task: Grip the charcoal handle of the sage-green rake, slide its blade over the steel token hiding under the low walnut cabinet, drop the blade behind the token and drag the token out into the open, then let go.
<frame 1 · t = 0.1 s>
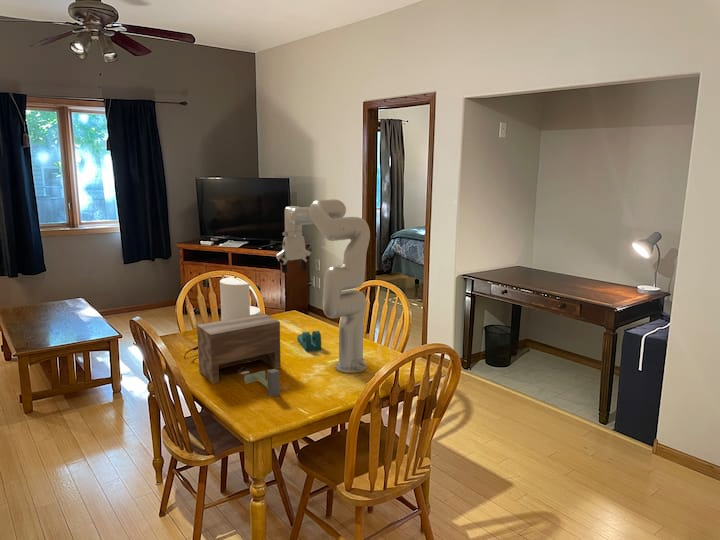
hand: (294, 271, 245), 31 cm above the table, tool pointing down, fingers open, 9 cm apart
token: (243, 372, 210), on the table
sunglasses: (200, 358, 225), on the table
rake: (273, 394, 190), on the table
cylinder: (241, 340, 246), on the table
bracket: (308, 345, 242), on the table
cabinet: (240, 369, 212), on the table
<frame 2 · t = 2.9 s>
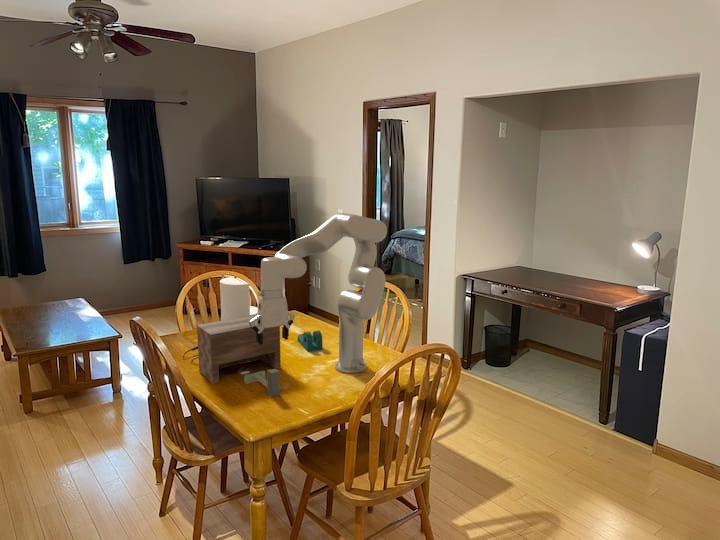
hand: (272, 341, 189), 19 cm above the table, tool pointing down, fingers open, 9 cm apart
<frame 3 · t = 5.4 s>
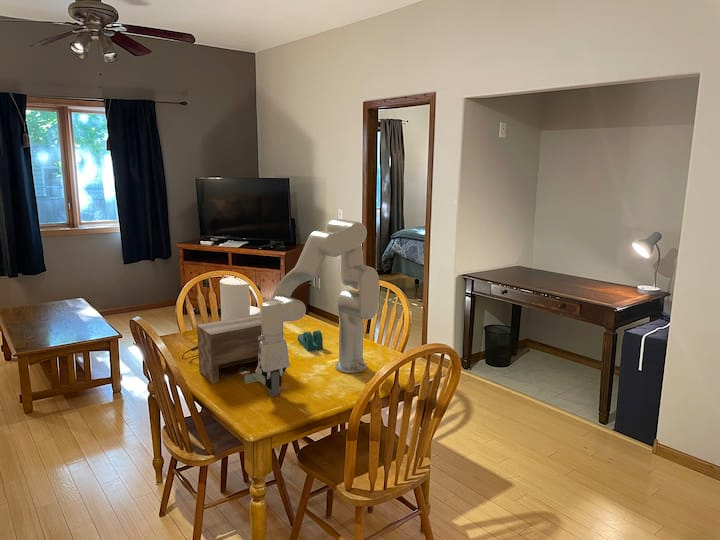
hand: (273, 386, 190), 3 cm above the table, tool pointing down, fingers closed on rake, 3 cm apart
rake: (273, 394, 190), on the table, touching gripper
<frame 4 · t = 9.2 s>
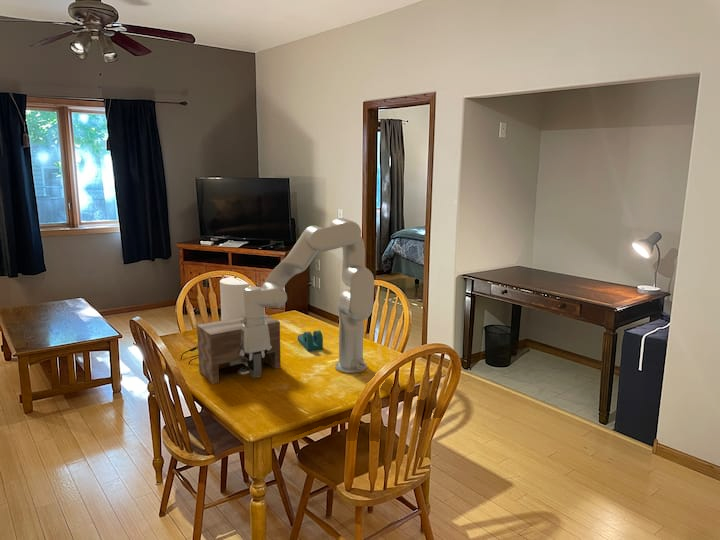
hand: (255, 367, 200), 5 cm above the table, tool pointing down, fingers closed on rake, 3 cm apart
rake: (256, 375, 201), point 2 cm above the table, touching gripper
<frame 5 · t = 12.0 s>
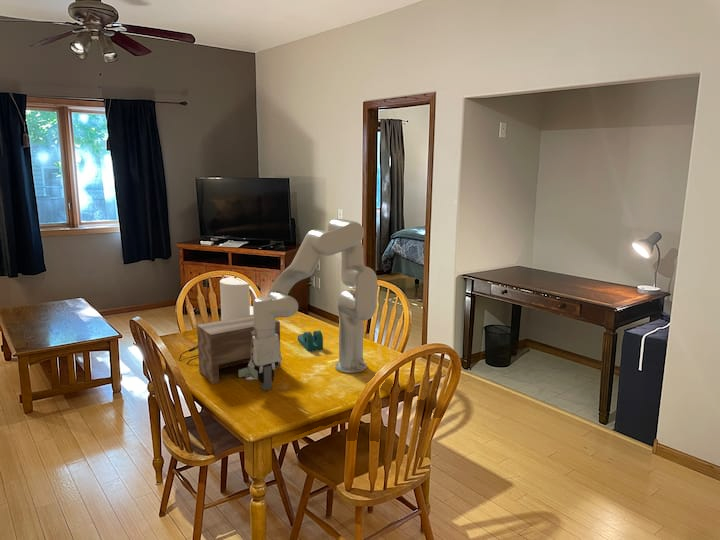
hand: (266, 380, 194), 3 cm above the table, tool pointing down, fingers closed on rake, 3 cm apart
token: (251, 378, 204), on the table, touching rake
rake: (266, 388, 195), on the table, touching gripper, token
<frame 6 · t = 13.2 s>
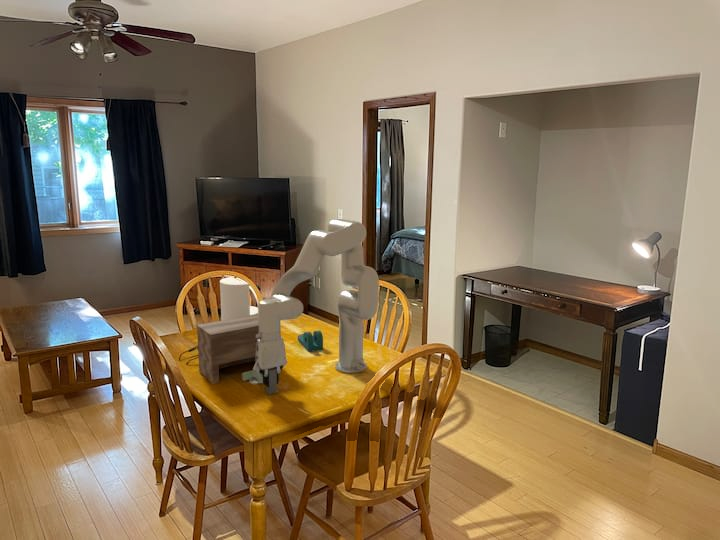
hand: (271, 383, 191), 3 cm above the table, tool pointing down, fingers closed on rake, 3 cm apart
token: (256, 382, 201), on the table
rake: (271, 392, 192), on the table, touching gripper
when the fingers open (3 cm above the table, at t = 13.2 s): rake stays where it is, on the table.
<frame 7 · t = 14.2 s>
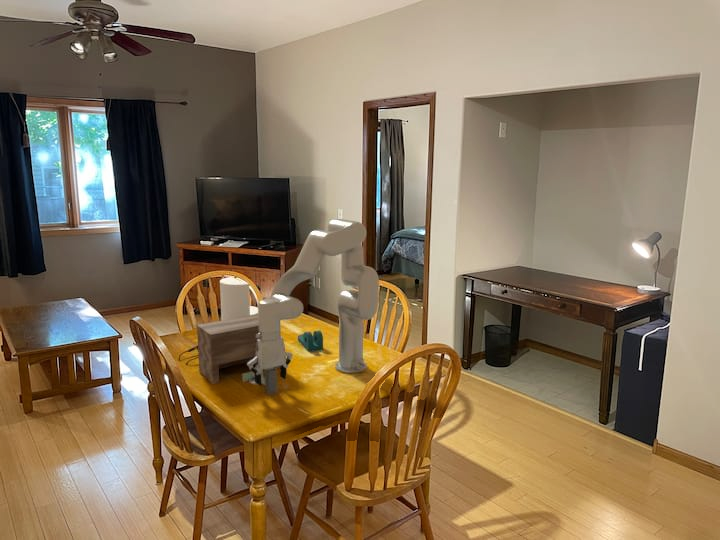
hand: (270, 380, 191), 5 cm above the table, tool pointing down, fingers open, 9 cm apart
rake: (271, 392, 192), on the table
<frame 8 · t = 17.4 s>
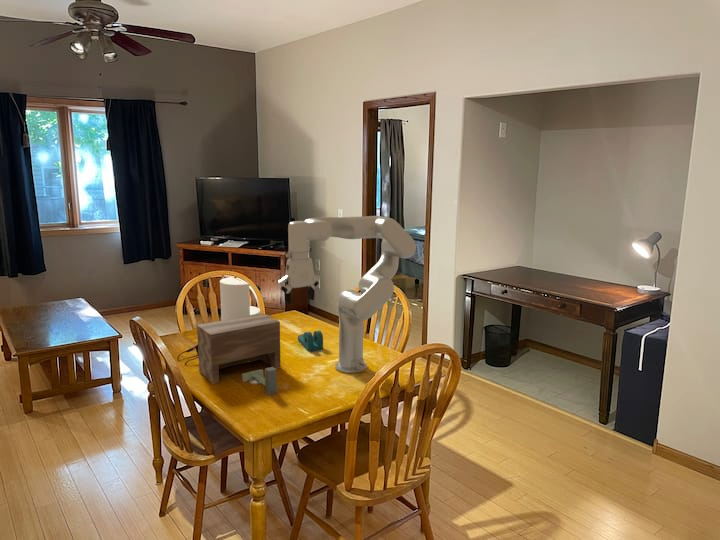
hand: (299, 301, 198), 30 cm above the table, tool pointing down, fingers open, 9 cm apart
at the end: token inside the target area (0.2 cm from its centre), on the table; the gripper is holding nothing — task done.
